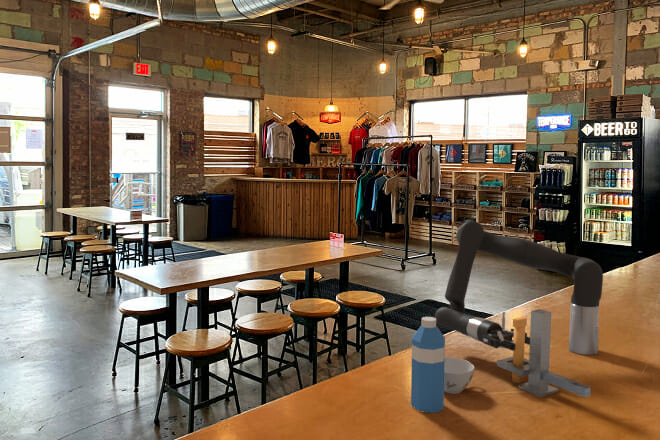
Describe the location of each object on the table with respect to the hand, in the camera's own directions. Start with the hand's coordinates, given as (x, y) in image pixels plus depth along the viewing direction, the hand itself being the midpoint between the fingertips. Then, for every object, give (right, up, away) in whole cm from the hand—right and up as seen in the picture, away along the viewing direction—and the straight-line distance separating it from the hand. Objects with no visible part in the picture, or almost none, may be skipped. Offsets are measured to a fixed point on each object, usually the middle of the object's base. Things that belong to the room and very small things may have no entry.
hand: (524, 344), depth 169 cm
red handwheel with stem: (+5, -8, +39) cm, 40 cm away
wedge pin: (-1, -12, +3) cm, 12 cm away
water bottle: (-32, -14, -14) cm, 38 cm away
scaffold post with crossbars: (+4, -13, -5) cm, 14 cm away
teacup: (-22, -13, -2) cm, 26 cm away
